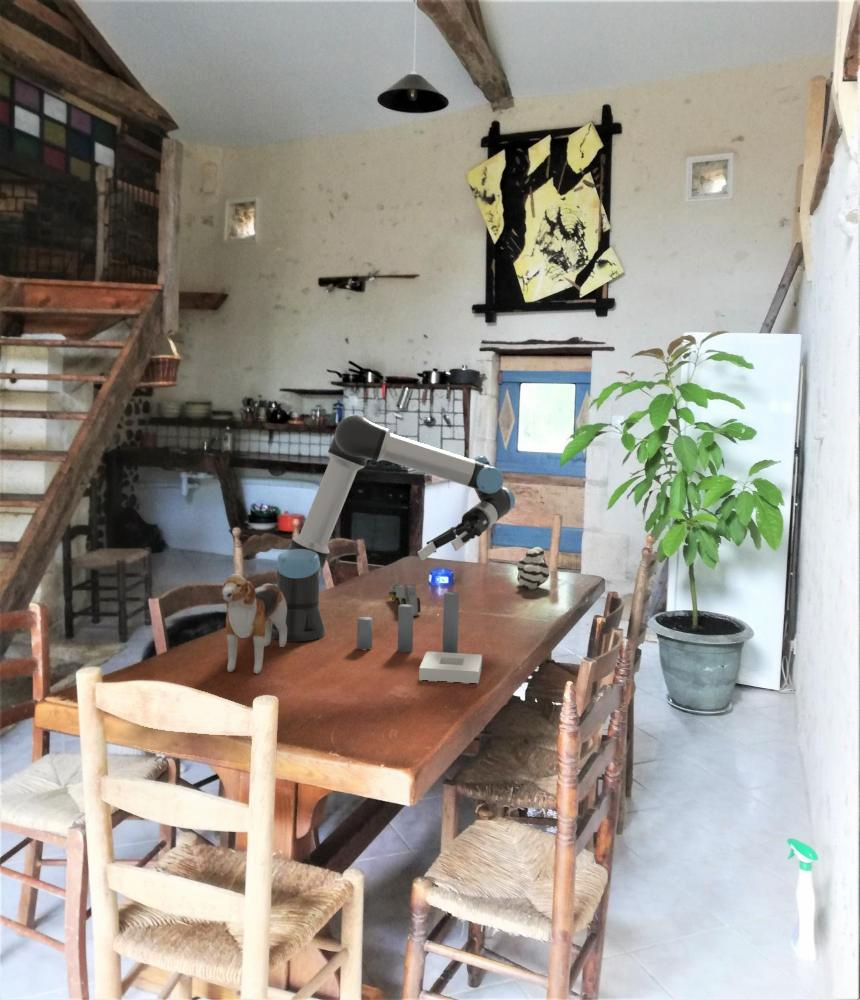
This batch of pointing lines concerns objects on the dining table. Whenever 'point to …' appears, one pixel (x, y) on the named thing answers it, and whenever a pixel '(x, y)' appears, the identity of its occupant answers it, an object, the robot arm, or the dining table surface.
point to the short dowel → (364, 633)
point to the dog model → (253, 616)
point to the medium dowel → (405, 628)
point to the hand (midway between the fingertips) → (436, 551)
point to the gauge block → (451, 667)
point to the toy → (405, 596)
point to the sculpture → (533, 569)
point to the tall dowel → (450, 622)
